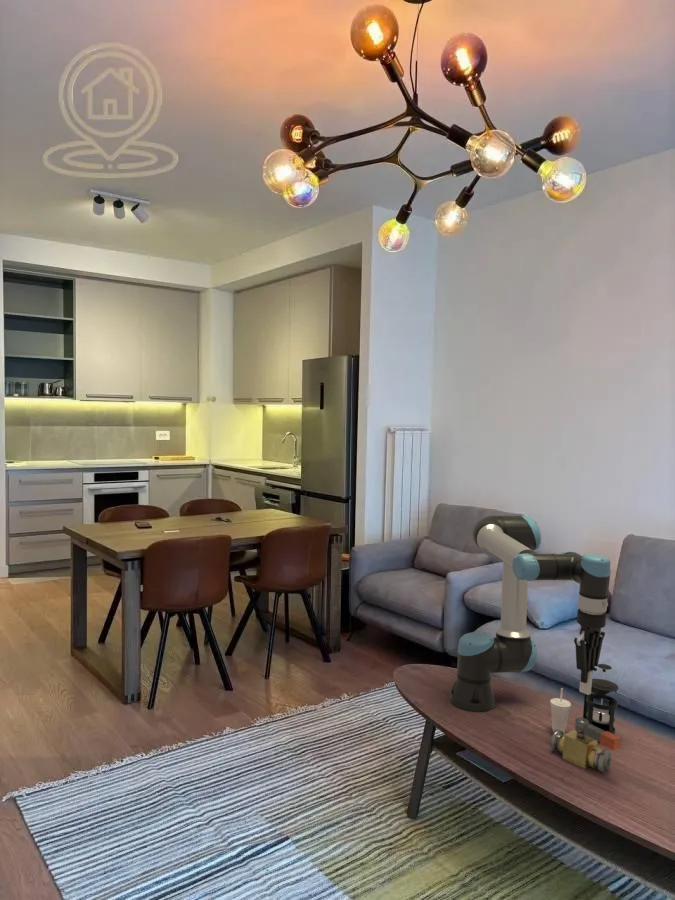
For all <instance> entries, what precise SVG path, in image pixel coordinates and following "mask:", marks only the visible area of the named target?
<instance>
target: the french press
mask: <svg viewBox="0 0 675 900" xmlns="http://www.w3.org/2000/svg"><path fill="white" fill-rule="evenodd" d="M597 667H598V668H600V669H602V679H601V678H592V687H591V694H589V695H587V694H584V696H583V697H584V698H583V699H584V700H583V709H582V710H583V711H582V715H583V716H582V718H585V719H587V720H588V721H589V723H590V724H592V725H594V726H596V727H598V728H600V729H602V730H604V731H608V732H610V733H612V734H614V735H616V728H615V726H614V724H615V721H616V719H615V710H616V709H617V708H618V701H617V700H616V699H615V698H614V697H612V696H610V695H608V694H609V693H612V692H614V693H616V694H617V691H618V690H619V685H618V684H616V683H615V682H612V681H610V680H606V679H605V674H606V672H607V670H612V666H611V665H609V664H605V663H598V666H597ZM595 698H596V699H600V700H601V701H600V704H599V703H596V702H594V699H595ZM604 700H606V701H609V702H608V703H609V704H608V705H603V701H604ZM594 708H596V709H598V710H594ZM604 711H608V713H607V712H604ZM597 744H600V742H597Z"/></svg>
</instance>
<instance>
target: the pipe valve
mask: <svg viewBox="0 0 675 900" xmlns="http://www.w3.org/2000/svg"><path fill="white" fill-rule="evenodd" d="M597 742H598V741H597V740H595V739H593V738H591V737H589V736H587V735H585V734H583V733H579V732H577V731H576V730H575V728H574V729H573V730H570V731H568V732H565V733H563V731H561V730H558V729H556V730H555V731H554V732H553V731H552V734H551V736H550V739H549V747H550V749H551V750H553V751H555V752H559V753H560V754H562V760H565V761H567V762H569V763H571V764H574V765H575V766H577V767H580V768H581V769H585V770H586V769H587V768H589V767H591V768H593V769H597V770H598V772H601V773H603V774H605V773H606V772H608V770H609V769H610V766H611V763H612V753H611V751H609V750H607V749H603V748H601V747H599V746H598V743H597Z"/></svg>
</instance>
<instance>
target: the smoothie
mask: <svg viewBox="0 0 675 900" xmlns="http://www.w3.org/2000/svg"><path fill="white" fill-rule="evenodd" d="M563 689H564V688H563V687H561V688H560V695H559V697H560V698H558V697H554V698H551V699H550V701H549V705H550V708H551V710H550V711H551V726H552V727H551V728H552V733H553V732H554V731H555V730H556V729H558V730H561V731H563V733H566V729H567V726H568V725H567V724H568V720H569V714H570V711H571V708H572V703H571V702H570V701H569V700H567V699H564V698H563Z"/></svg>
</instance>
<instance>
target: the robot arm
mask: <svg viewBox="0 0 675 900" xmlns="http://www.w3.org/2000/svg"><path fill="white" fill-rule="evenodd" d="M472 539H473V543H474V544H475V545H476V546H477V547H478V548H479V549H480V550H482V551H483V552H486V553H491V554H493V555H494V556H496V557H498V558H499V559H500V560H501V561H502V578H501V579H502V581H501V583H502V585H501V607H500V608H501V609H500V610H501V611H500V627H499V628H497V629H496V630H495V637H493V635H492V634H491V633H487V632H481V631H472V632H468V633H465V634H463V635H462V636H461V637H460V638H459V641H458V645H457V662H456V663H457V665H456V678H455V680H454V682H453V686H452V688H451V691H450V693H449V694H450V696H449V700H451V701H450V702H451V703H452V704H453V706H455V707H457V708H458V709H461V710H466V711H470V712H486V711H490V710H492V709H494V708H495V706H496V705H495V703H496V697H495V695H494V690H493V685H492V674H495V673H496V674H497V673H498V674H501V673H517V674H518V673H525V672H528V671H530V670H531V669H532V668H533V667H534V665H535V664H536V661H537V657H538V654H537V653H538V649H537V647H536V646H537V644H536V642H535V640H534V639H533V638H532V637H531V633H530V632H529V631H528V630H527V617H528V616H527V615H528V613H527V611H528V610H527V609H528V588H529V587H528V584H529V583H528V582H533V581H573V582H576V583H578V584H579V590H578V600H577V601H578V603H577V608H578V609H577V615H576V623H578V624H579V625H580V628H579V629H580V630H579V636H578V638H577V637H574V638H573V642H574V647H575V658H576V659H575V660H576V661H575V662H576V665H575V666H576V670H580V677H579V678H580V679H579V692H580V693H582V694H584V695H585V694H587V695H589V694H591V693H592V692H591V687H592V679H593V674H594V673H593V672H597V671H598V668H596V667H598V664H599V660H600V656H601V650H602V647H603V646H602V645H603V641H604V638H605V635H606V632H605V631H602V629H603V628H605V627H606V624H607V613H606V612H607V608H608V607H609V602H608V596H609V589H610V579H611V573H612V572H611V559H610V558H609V557H607V556H605V555H602V554H599V553H598V554H597V553H585V554H584V555H581V554H580V553H578V552H575V551H572V550H565V551H562V552H560V553H539V552H536V550H538V549H539V548H540V545H541V544H542V543H541V542H542V535H541V529H540V527H539V525H538V523H537V521H536V520H535V519H534V518H533V517H530V516H526V515H487V516H484V517H482V518H480V519H479V520H478V521H477V522H476V523H475V525H474V527H473V529H472Z"/></svg>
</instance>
